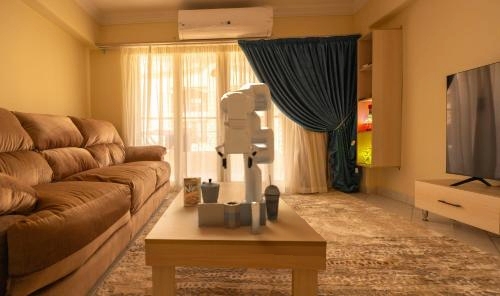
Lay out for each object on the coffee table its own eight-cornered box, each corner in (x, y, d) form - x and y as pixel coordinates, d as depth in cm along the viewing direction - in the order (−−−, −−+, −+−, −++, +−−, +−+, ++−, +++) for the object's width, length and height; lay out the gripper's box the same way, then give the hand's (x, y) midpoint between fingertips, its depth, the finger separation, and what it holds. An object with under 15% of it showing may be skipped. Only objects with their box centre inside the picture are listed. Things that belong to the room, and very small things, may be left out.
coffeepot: (226, 218, 123) (225, 179, 122) (207, 222, 118) (206, 181, 117) (211, 211, 136) (211, 175, 135) (193, 214, 131) (193, 177, 130)
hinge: (197, 229, 109) (196, 205, 108) (199, 224, 115) (199, 201, 115) (266, 228, 110) (266, 204, 109) (265, 223, 116) (265, 201, 116)
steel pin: (254, 231, 106) (254, 201, 105) (261, 233, 104) (261, 202, 104) (250, 233, 103) (250, 202, 103) (256, 235, 102) (256, 203, 101)
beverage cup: (276, 222, 117) (276, 176, 116) (261, 220, 120) (261, 175, 119) (282, 218, 123) (282, 174, 122) (268, 216, 127) (268, 173, 126)
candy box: (183, 206, 146) (183, 178, 146) (185, 204, 150) (185, 176, 150) (199, 206, 146) (199, 178, 145) (201, 204, 150) (201, 177, 149)
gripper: (215, 124, 100) (216, 169, 101) (260, 124, 104) (261, 168, 104) (214, 125, 108) (214, 168, 108) (256, 125, 111) (256, 167, 111)
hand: (237, 168), depth 106 cm, fingers open, 9 cm apart
